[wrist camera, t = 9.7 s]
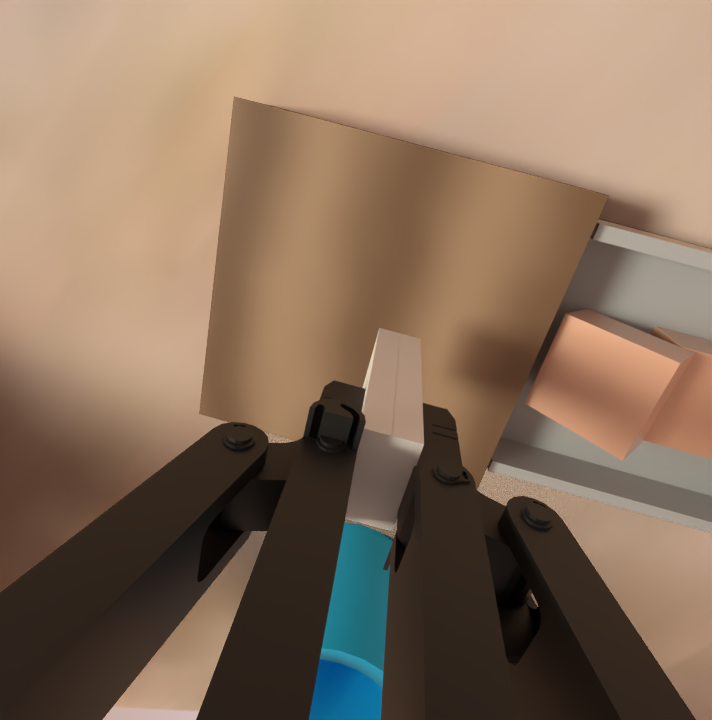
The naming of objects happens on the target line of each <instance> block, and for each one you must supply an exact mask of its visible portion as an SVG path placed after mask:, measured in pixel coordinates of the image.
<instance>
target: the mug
mask: <svg viewBox="0 0 712 720" xmlns="http://www.w3.org/2000/svg"><path fill="white" fill-rule="evenodd" d="M392 543H393V541H392V540H391V539H389V538H388V537H386V536H385V535H384V534H382V533H381V532H378V531H376V530H373V529H370V528H368V527H365V526H362V525H357V524H348V523H344V528H343V533H342V539H341V544H340V550H339V555H338V561H337V566H336V572H335V577H334V583H333V589H332V594H331V600H330V605H329V611H328V616H327V622H326V627H325V633H324V638H323V644H322V649H321V655H320V660H319V666H318V671H317V677H316V683H315V688H314V694H313V699H312V705H311V710H310V716H309V720H380V719H381V703H382V687H383V670H384V654H385V637H386V621H387V604H388V588H389V572H390V564H389V567H388V570H383V567H384V564H385V561H386V559H387V556H388V553H389V551H390V548H391V545H392Z"/></svg>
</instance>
